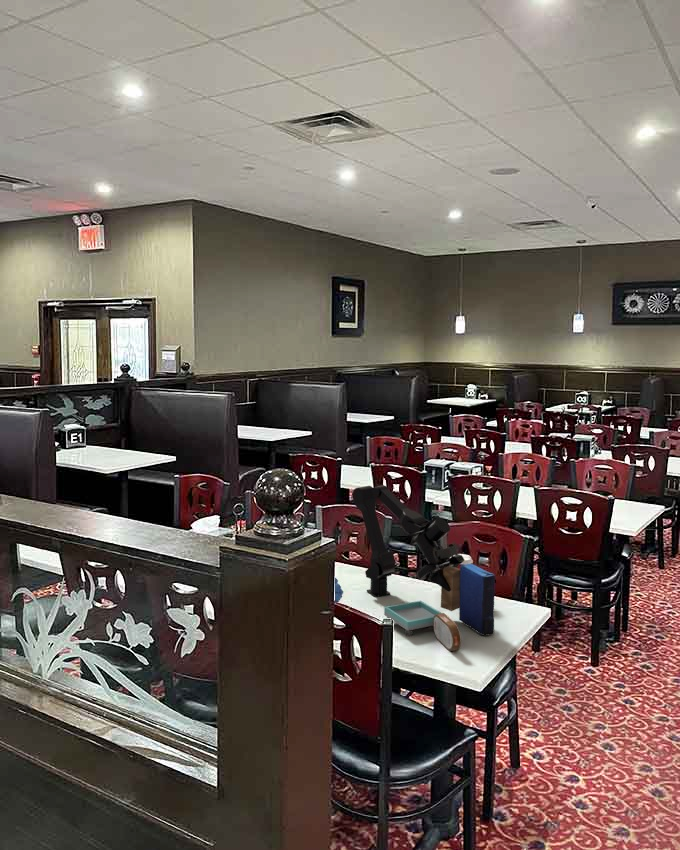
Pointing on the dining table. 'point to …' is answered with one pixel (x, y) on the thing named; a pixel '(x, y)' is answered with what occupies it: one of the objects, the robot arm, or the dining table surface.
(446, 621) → the tin
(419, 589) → the dining table surface
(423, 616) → the teal shallow tray
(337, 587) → the grapes
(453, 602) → the walnut block
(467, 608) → the book
